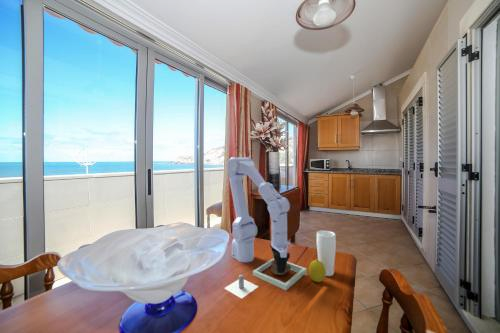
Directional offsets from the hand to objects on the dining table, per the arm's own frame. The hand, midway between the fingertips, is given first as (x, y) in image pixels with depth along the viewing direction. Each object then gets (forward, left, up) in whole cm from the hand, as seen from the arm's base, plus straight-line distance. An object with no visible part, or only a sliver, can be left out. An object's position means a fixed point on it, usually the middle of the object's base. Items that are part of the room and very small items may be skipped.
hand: (279, 268), depth 76 cm
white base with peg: (-5, -15, -3) cm, 16 cm away
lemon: (+12, +5, -3) cm, 13 cm away
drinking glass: (+12, +13, -3) cm, 18 cm away
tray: (0, 0, -3) cm, 3 cm away
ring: (0, 0, -1) cm, 1 cm away
